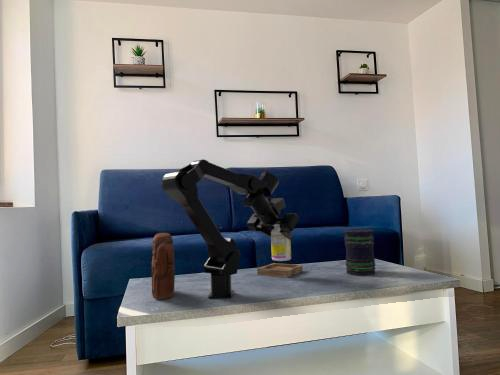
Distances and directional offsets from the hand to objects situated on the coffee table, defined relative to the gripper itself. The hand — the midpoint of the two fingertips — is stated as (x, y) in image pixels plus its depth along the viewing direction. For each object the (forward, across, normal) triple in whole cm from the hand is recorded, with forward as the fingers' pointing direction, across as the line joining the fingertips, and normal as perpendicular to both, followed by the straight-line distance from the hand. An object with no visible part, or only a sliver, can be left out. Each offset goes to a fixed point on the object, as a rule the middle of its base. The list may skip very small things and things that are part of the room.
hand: (283, 238), depth 119 cm
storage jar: (+23, -18, -5) cm, 30 cm away
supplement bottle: (+4, 0, +6) cm, 7 cm away
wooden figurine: (-17, +15, +37) cm, 43 cm away
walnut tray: (+12, +5, +6) cm, 15 cm away
